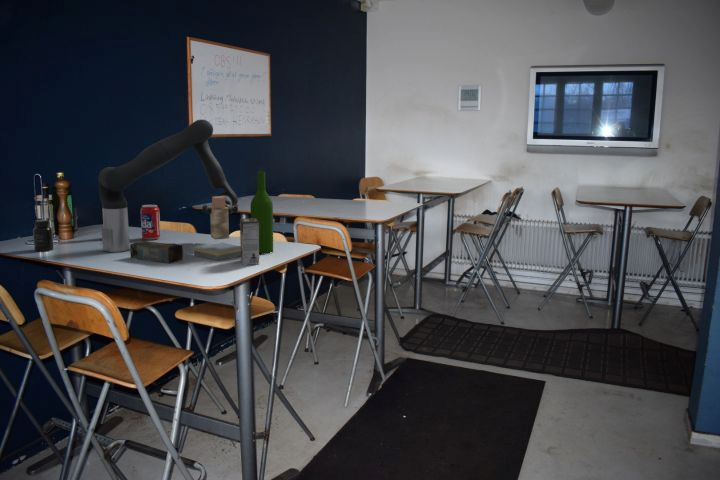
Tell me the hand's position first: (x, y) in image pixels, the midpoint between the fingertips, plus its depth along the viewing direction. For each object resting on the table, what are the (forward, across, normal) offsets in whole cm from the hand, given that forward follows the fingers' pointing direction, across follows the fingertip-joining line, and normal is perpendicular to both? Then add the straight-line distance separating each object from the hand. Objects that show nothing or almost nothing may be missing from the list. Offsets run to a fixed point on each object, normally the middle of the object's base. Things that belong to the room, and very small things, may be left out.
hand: (218, 211), depth 226 cm
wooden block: (-1, 0, +10) cm, 11 cm away
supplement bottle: (-15, -70, +18) cm, 74 cm away
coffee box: (+12, +12, +18) cm, 24 cm away
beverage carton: (+4, -23, +18) cm, 30 cm away
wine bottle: (-7, +16, +18) cm, 25 cm away
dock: (-2, 0, +18) cm, 18 cm away
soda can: (-38, -33, +18) cm, 54 cm away
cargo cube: (-1, 0, -2) cm, 2 cm away
